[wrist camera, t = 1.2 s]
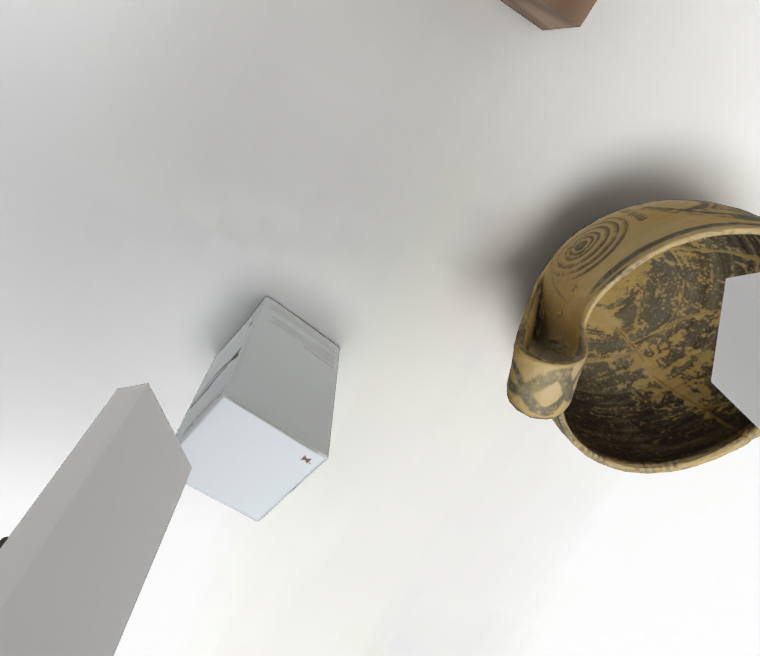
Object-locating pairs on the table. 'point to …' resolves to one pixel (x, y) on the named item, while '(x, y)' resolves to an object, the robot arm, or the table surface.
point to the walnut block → (553, 12)
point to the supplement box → (262, 412)
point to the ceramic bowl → (637, 336)
